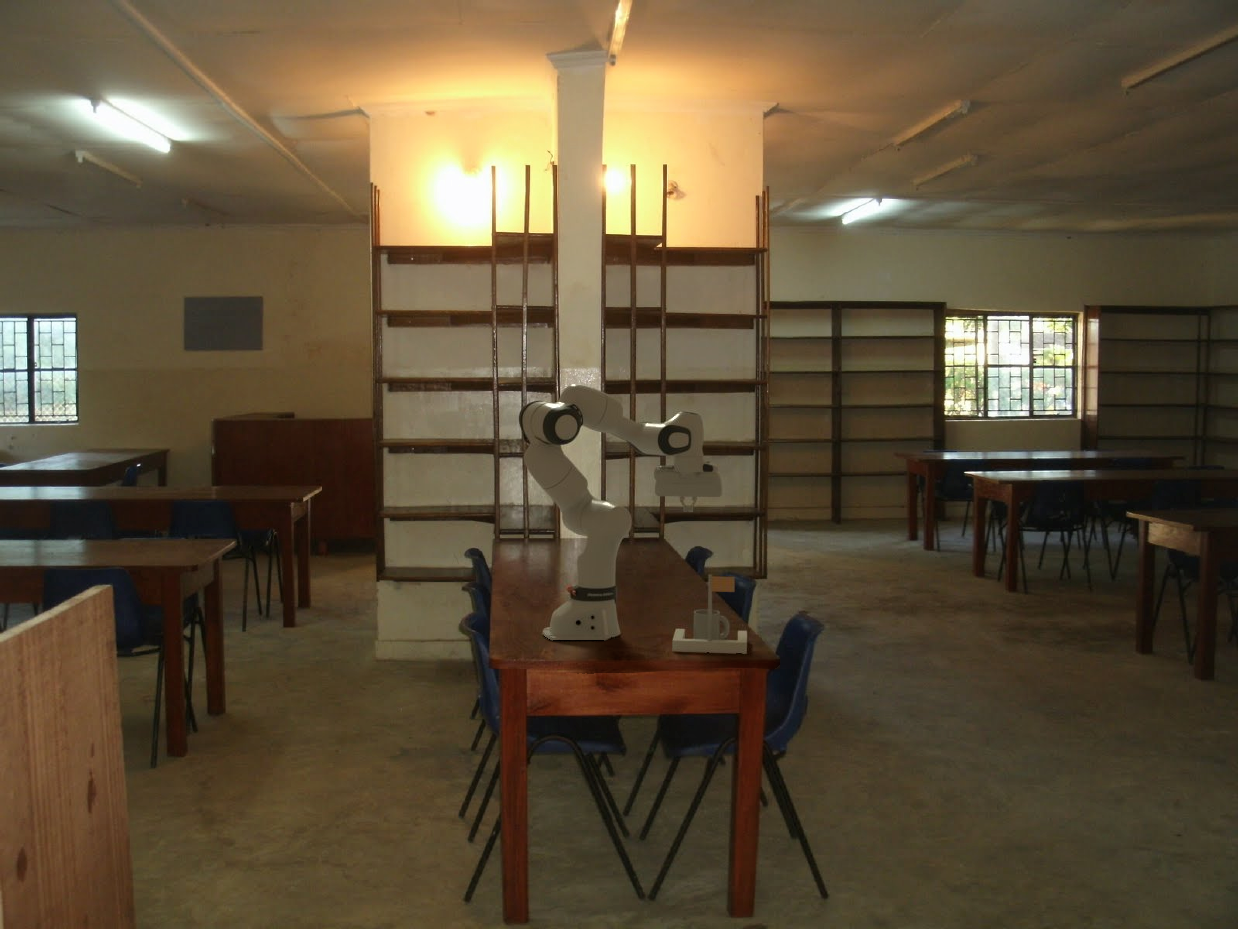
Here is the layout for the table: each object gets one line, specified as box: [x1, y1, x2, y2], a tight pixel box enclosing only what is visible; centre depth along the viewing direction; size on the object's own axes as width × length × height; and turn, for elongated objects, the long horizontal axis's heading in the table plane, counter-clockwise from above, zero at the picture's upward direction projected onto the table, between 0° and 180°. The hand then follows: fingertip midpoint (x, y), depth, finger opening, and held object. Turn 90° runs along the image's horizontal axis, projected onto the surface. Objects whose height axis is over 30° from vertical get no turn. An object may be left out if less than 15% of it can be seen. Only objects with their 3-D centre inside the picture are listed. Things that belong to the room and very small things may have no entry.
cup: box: [693, 609, 730, 640], centre depth 301 cm, size 7×10×9 cm
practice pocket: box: [671, 574, 748, 655], centre depth 297 cm, size 14×20×21 cm
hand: (688, 511), depth 325 cm, fingers closed
